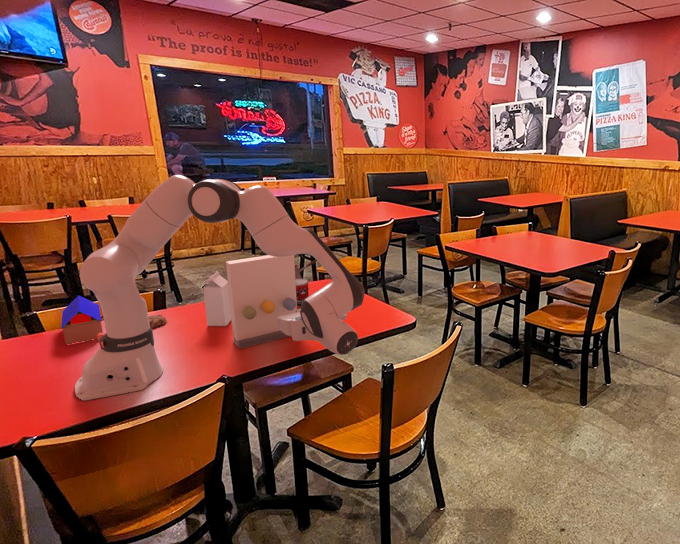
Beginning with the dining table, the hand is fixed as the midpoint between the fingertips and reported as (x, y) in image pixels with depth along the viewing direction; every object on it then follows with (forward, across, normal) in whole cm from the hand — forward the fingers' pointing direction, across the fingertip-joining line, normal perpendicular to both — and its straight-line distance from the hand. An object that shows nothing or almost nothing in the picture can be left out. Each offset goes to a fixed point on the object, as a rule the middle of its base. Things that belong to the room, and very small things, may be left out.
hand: (299, 310), depth 141 cm
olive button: (+8, +14, +2) cm, 16 cm away
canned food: (+33, -15, +12) cm, 38 cm away
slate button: (+8, 0, +2) cm, 9 cm away
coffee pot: (+50, -25, +12) cm, 57 cm away
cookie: (+48, +39, +12) cm, 63 cm away
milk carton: (+35, +17, +12) cm, 41 cm away
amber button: (+10, +7, +2) cm, 12 cm away
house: (+54, +61, +12) cm, 83 cm away
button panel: (+13, +7, +12) cm, 19 cm away
